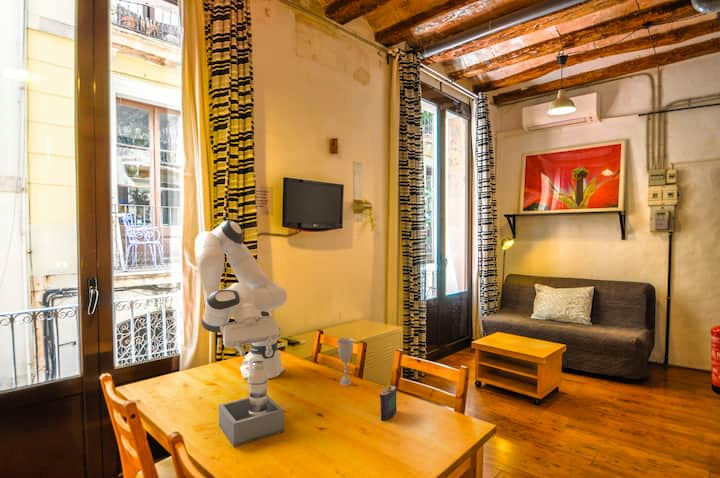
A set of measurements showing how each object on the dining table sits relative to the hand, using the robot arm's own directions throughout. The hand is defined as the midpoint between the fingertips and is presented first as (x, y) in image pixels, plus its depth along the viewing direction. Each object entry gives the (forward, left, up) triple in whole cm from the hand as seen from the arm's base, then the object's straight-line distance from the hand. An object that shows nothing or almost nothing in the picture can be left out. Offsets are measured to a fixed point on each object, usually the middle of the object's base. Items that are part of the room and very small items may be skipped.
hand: (256, 352), depth 142 cm
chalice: (-4, +40, -21) cm, 45 cm away
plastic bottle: (+11, -4, -20) cm, 23 cm away
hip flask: (+30, +36, -21) cm, 51 cm away
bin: (+11, -6, -21) cm, 25 cm away
